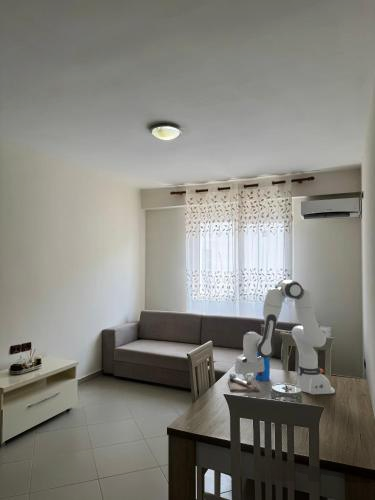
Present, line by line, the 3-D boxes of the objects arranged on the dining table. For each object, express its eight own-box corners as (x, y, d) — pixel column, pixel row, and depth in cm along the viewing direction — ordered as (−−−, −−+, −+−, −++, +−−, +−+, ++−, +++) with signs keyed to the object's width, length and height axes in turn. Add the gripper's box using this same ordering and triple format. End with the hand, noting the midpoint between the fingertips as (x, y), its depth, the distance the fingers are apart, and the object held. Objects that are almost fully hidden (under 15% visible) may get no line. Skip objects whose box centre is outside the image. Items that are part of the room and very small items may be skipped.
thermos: (252, 380, 236) (252, 343, 237) (254, 375, 247) (254, 339, 248) (269, 382, 233) (269, 344, 234) (270, 377, 243) (270, 341, 244)
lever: (228, 379, 232) (228, 368, 232) (232, 378, 234) (232, 367, 234) (248, 387, 217) (248, 376, 217) (252, 386, 219) (252, 374, 219)
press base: (254, 381, 233) (254, 378, 234) (259, 392, 214) (259, 388, 215) (227, 381, 234) (227, 378, 234) (230, 391, 215) (230, 388, 215)
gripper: (260, 355, 227) (260, 376, 227) (233, 357, 219) (233, 380, 219) (266, 357, 221) (266, 379, 221) (238, 360, 214) (238, 383, 213)
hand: (249, 379), depth 220 cm, fingers open, 4 cm apart
